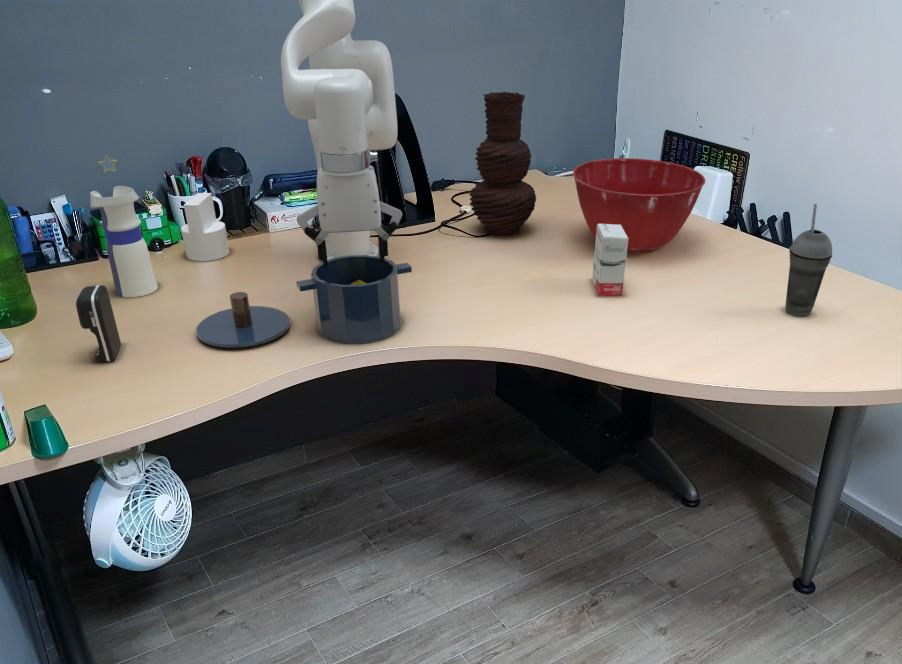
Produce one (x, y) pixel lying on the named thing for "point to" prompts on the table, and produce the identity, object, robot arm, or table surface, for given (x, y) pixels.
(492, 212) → the vase
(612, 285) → the ink box
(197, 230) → the cylinder with rectangular tab
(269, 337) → the pot lid
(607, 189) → the mixing bowl
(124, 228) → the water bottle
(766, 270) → the table surface
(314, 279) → the pot
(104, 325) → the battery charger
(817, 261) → the beverage cup
